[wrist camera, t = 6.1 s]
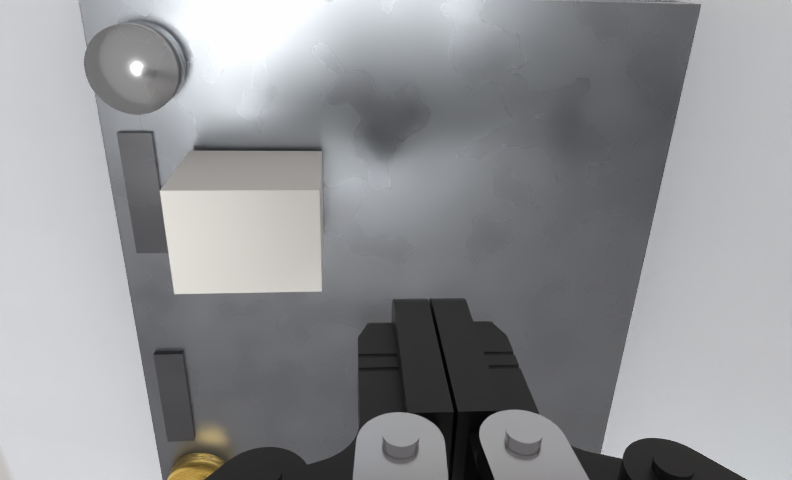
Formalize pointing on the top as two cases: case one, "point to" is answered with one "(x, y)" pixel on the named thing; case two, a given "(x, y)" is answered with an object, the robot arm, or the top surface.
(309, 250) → the block
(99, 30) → the panel
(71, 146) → the top surface
